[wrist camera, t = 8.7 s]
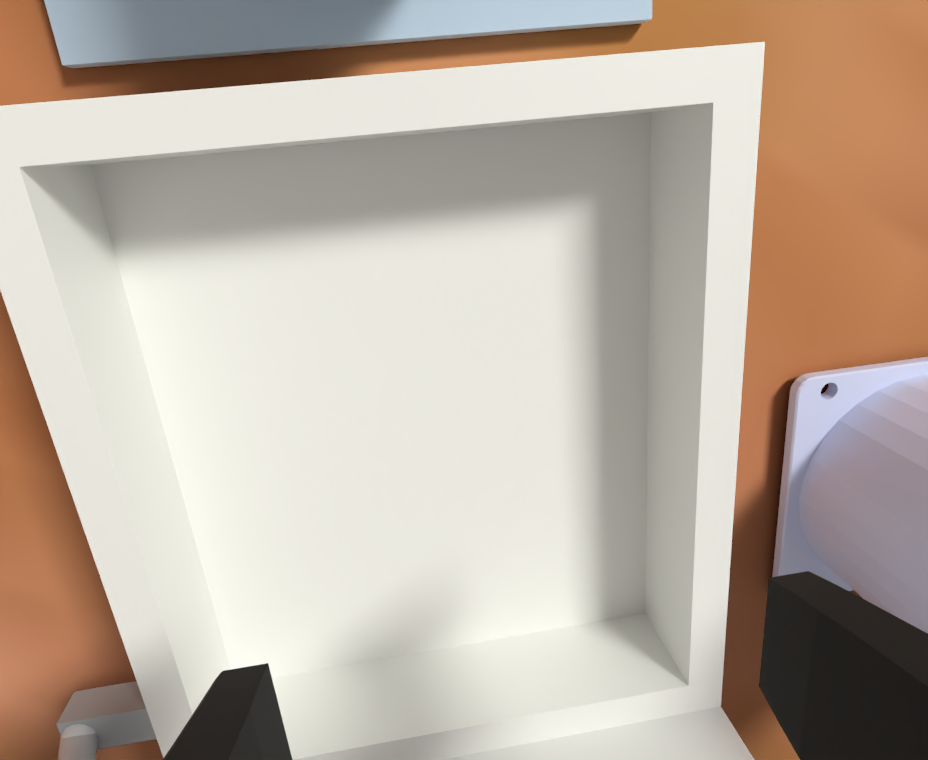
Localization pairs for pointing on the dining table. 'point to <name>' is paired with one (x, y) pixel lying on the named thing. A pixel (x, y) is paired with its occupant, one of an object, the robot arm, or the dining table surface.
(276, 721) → the robot arm
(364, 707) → the case
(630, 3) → the mat
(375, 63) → the dining table surface
